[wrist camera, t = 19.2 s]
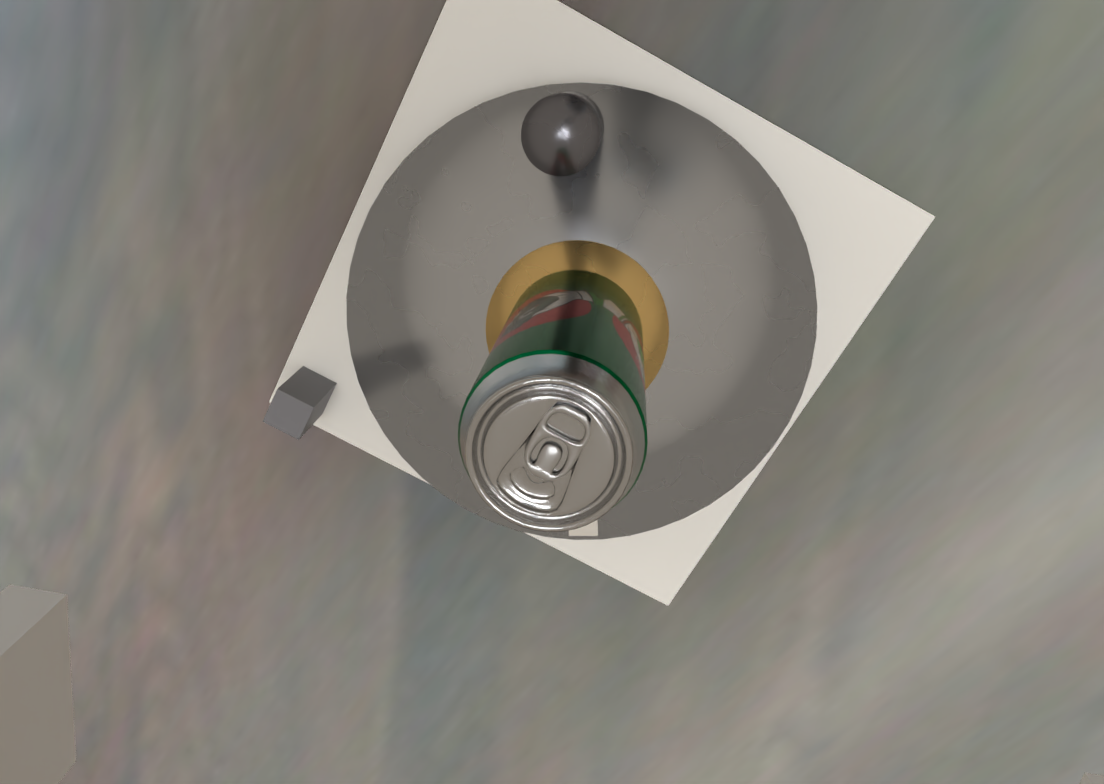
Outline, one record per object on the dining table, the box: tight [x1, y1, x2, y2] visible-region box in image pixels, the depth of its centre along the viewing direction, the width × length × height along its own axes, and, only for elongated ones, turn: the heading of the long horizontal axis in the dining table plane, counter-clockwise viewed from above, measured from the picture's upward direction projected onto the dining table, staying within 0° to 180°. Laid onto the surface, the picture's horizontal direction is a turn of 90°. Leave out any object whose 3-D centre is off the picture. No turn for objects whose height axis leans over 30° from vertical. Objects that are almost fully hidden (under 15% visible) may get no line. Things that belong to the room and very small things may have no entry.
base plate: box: [263, 0, 935, 605], centre depth 35 cm, size 20×20×4 cm
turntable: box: [346, 82, 817, 540], centre depth 33 cm, size 18×18×7 cm
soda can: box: [458, 270, 648, 532], centre depth 28 cm, size 5×5×12 cm
